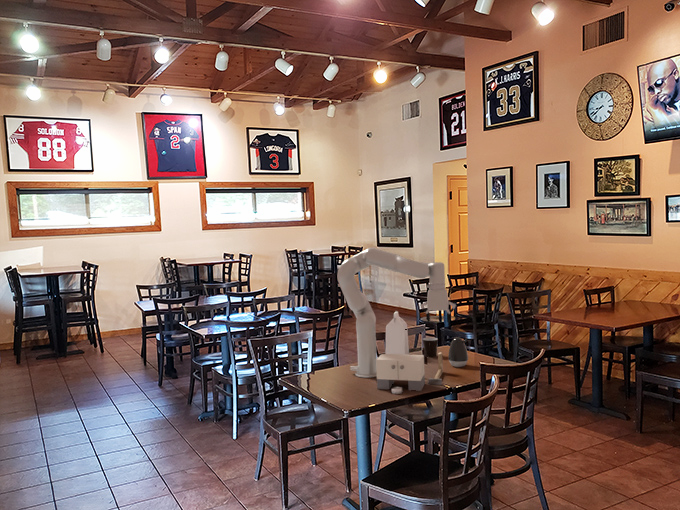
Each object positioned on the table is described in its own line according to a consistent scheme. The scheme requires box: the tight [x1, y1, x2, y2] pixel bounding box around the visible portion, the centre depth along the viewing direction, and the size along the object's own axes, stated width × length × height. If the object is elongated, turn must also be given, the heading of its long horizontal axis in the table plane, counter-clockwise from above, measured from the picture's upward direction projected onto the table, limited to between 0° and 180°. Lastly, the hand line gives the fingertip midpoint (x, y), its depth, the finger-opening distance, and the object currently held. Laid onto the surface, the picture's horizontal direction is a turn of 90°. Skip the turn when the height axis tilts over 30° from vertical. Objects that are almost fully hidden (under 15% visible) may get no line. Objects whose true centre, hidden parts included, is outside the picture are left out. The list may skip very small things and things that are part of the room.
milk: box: [384, 311, 410, 355], centre depth 307 cm, size 12×12×26 cm
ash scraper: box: [428, 351, 444, 386], centre depth 258 cm, size 6×24×10 cm, turn 162°
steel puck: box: [390, 386, 403, 395], centre depth 236 cm, size 5×5×2 cm
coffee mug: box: [422, 337, 439, 359], centre depth 304 cm, size 12×9×10 cm
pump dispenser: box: [447, 336, 469, 368], centre depth 280 cm, size 10×10×15 cm
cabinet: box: [376, 353, 426, 392], centre depth 245 cm, size 20×13×14 cm, turn 73°
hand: (438, 321), depth 265 cm, fingers open, 9 cm apart
